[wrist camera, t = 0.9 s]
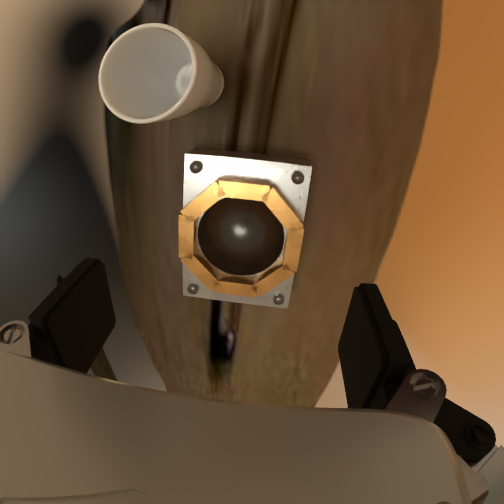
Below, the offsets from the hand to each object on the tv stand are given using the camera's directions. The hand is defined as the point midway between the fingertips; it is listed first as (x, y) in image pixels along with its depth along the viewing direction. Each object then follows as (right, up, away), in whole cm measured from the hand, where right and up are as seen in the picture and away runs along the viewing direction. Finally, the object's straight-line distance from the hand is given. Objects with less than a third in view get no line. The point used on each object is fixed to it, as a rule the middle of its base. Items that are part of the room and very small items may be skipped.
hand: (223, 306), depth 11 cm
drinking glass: (-4, +19, +18) cm, 27 cm away
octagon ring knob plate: (0, +5, +25) cm, 25 cm away
